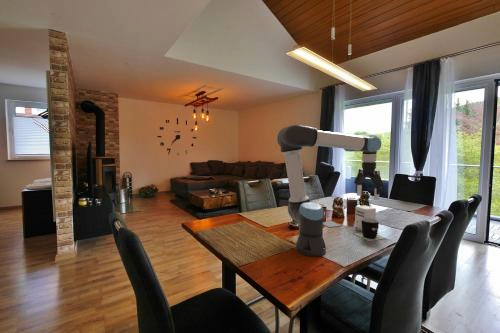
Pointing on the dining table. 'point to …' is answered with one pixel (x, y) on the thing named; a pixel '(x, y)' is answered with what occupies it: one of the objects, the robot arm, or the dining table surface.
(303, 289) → the dining table surface
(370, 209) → the wall box
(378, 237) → the sage coaster
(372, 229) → the mug
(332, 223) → the slate coaster
